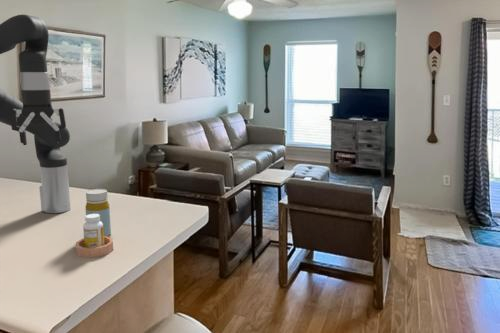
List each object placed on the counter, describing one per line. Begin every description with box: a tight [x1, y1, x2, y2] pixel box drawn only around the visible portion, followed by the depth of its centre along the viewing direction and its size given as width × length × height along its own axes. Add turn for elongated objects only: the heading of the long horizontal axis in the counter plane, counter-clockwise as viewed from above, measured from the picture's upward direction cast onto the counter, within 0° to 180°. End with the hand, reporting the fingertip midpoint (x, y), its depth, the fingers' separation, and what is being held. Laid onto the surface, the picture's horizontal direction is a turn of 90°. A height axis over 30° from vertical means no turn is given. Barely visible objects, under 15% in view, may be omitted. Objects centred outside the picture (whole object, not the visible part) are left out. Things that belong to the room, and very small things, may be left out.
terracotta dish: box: [75, 236, 114, 258], centre depth 127 cm, size 10×10×2 cm
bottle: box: [85, 188, 112, 238], centre depth 135 cm, size 7×7×15 cm
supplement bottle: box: [82, 214, 104, 248], centre depth 126 cm, size 5×5×10 cm
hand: (41, 144), depth 129 cm, fingers open, 8 cm apart
